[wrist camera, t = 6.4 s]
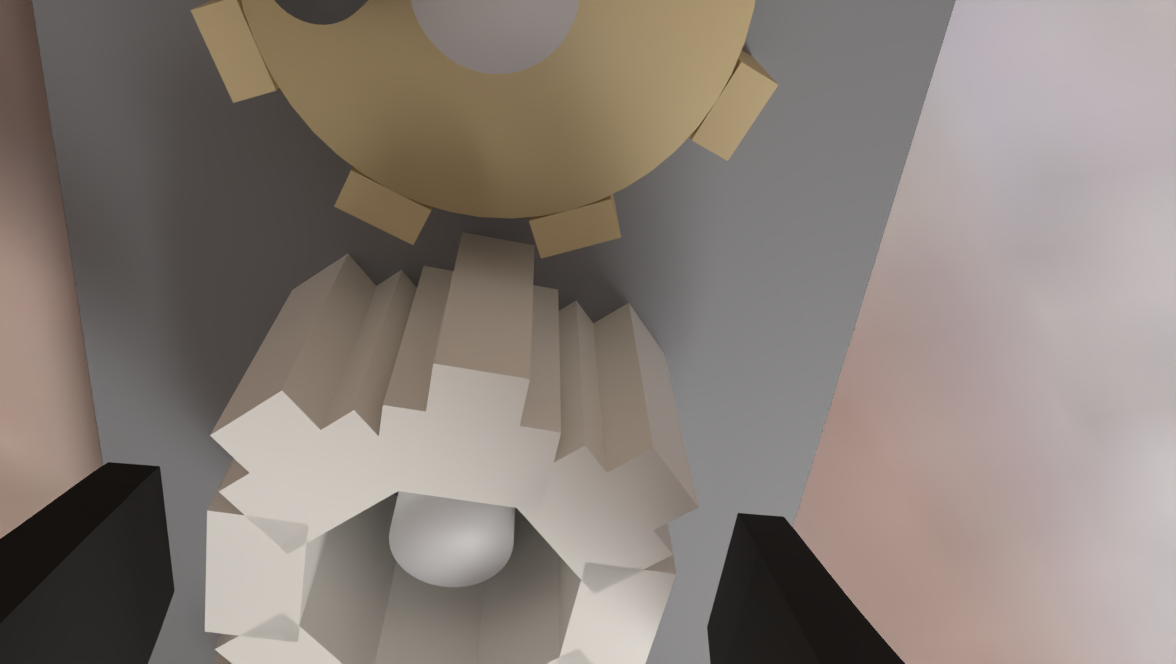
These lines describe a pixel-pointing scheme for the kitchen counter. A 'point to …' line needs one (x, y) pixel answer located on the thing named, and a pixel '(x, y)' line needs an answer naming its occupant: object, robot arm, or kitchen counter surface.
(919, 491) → the kitchen counter surface
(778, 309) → the gear board
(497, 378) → the loose gear
